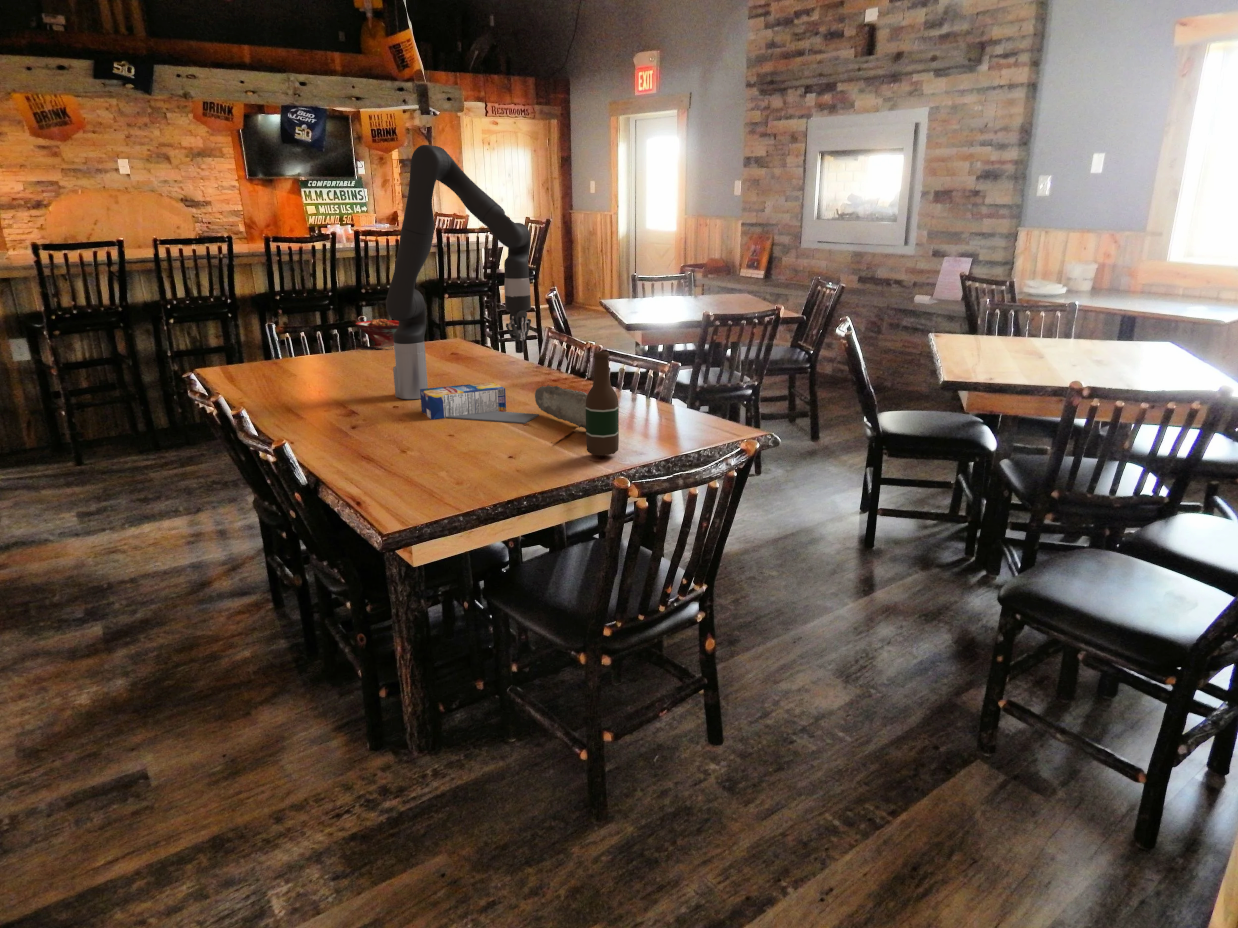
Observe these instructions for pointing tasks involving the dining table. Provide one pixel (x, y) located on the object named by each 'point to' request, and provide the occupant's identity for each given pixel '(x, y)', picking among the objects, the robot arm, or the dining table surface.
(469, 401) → the beverage box
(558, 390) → the elongated rock
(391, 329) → the stew
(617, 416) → the beer bottle
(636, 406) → the dining table surface
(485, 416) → the mat
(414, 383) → the robot arm
